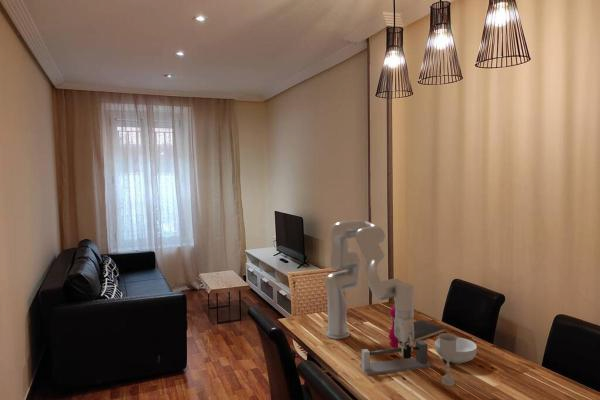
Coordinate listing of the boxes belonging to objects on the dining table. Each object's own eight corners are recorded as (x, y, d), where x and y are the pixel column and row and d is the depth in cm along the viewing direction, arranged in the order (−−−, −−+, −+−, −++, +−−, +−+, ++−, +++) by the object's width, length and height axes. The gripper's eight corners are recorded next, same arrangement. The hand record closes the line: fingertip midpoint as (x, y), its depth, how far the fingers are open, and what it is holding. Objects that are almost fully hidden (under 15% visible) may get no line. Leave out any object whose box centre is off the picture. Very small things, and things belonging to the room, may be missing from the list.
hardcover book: (445, 332, 213) (445, 328, 212) (413, 343, 200) (413, 338, 200) (420, 323, 226) (420, 319, 226) (389, 333, 213) (389, 328, 213)
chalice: (435, 378, 165) (435, 333, 164) (452, 377, 165) (452, 332, 164) (443, 387, 158) (443, 341, 156) (460, 386, 158) (460, 340, 157)
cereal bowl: (475, 353, 186) (475, 338, 186) (478, 370, 170) (478, 353, 170) (435, 349, 192) (435, 334, 191) (434, 365, 176) (434, 349, 175)
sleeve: (398, 352, 177) (398, 343, 177) (406, 351, 178) (406, 342, 178) (402, 356, 174) (402, 347, 173) (411, 355, 174) (411, 346, 174)
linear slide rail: (359, 366, 176) (359, 345, 176) (421, 359, 182) (421, 338, 181) (366, 375, 168) (366, 353, 168) (430, 367, 174) (430, 345, 174)
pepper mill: (405, 349, 193) (404, 306, 191) (389, 348, 194) (388, 305, 193) (404, 342, 200) (404, 301, 198) (389, 341, 201) (388, 301, 200)
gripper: (387, 307, 182) (388, 348, 183) (405, 320, 166) (405, 365, 167) (403, 306, 184) (404, 346, 185) (422, 318, 167) (422, 363, 168)
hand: (404, 355), depth 176 cm, fingers closed on sleeve, 4 cm apart
